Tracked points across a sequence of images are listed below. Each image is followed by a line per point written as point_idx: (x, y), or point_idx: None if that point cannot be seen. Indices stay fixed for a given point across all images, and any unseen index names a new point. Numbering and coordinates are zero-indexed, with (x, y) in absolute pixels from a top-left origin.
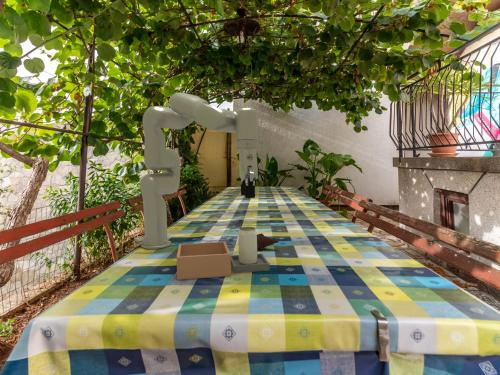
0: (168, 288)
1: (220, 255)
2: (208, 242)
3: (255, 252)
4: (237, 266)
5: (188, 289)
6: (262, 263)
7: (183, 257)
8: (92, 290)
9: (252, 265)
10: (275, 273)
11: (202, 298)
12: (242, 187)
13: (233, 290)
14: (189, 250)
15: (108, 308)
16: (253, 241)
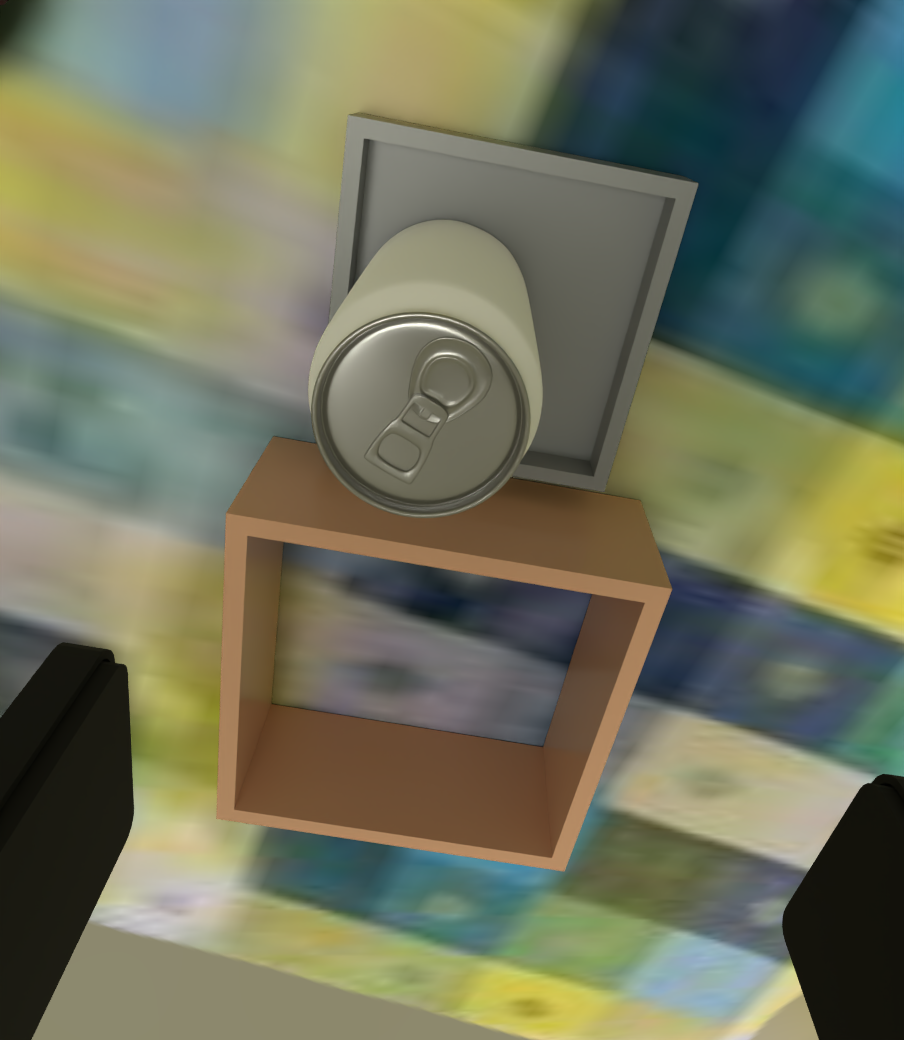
0: (654, 802)
1: (647, 650)
2: (222, 645)
3: (516, 278)
4: (611, 462)
5: (721, 736)
6: (537, 190)
7: (574, 840)
8: (523, 999)
9: (646, 345)
10: (777, 158)
11: (875, 705)
12: (25, 1017)
13: (883, 554)
14: (250, 729)
15: (739, 964)
16: (534, 338)
